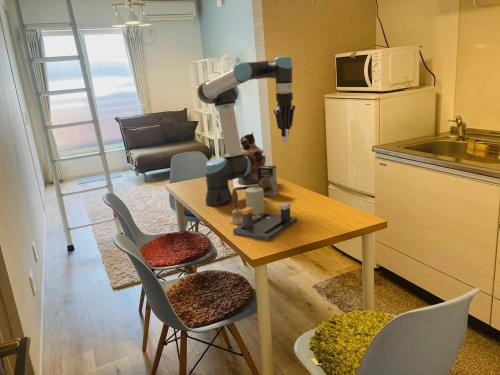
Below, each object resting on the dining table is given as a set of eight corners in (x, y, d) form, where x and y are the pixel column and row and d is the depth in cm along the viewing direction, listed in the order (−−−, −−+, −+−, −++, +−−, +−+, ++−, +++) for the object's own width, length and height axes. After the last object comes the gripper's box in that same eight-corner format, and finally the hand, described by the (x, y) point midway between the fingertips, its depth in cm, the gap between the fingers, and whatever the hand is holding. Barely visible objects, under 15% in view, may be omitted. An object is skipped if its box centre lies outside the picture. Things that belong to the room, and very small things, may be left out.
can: (267, 208, 203) (265, 186, 200) (261, 214, 194) (260, 191, 191) (250, 208, 206) (248, 185, 203) (244, 214, 198) (242, 191, 194)
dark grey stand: (233, 233, 174) (231, 212, 172) (263, 215, 193) (262, 196, 190) (268, 241, 164) (267, 218, 161) (297, 221, 182) (296, 201, 179)
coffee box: (259, 195, 226) (256, 167, 221) (262, 192, 231) (260, 165, 227) (274, 196, 222) (272, 168, 218) (277, 192, 228) (276, 165, 223)
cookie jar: (231, 180, 265) (227, 132, 256) (268, 176, 267) (264, 128, 258) (234, 190, 241) (229, 137, 232) (274, 185, 243) (271, 133, 234)
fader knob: (242, 228, 175) (240, 210, 173) (248, 224, 179) (247, 206, 177) (248, 229, 173) (246, 211, 171) (254, 225, 177) (253, 207, 175)
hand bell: (235, 226, 183) (232, 192, 179) (225, 221, 190) (222, 189, 185) (250, 221, 188) (247, 188, 183) (240, 217, 194) (237, 185, 190)
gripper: (281, 94, 175) (282, 146, 183) (299, 90, 183) (300, 140, 192) (268, 93, 180) (270, 144, 188) (287, 89, 188) (288, 138, 197)
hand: (285, 142), depth 190 cm, fingers closed
